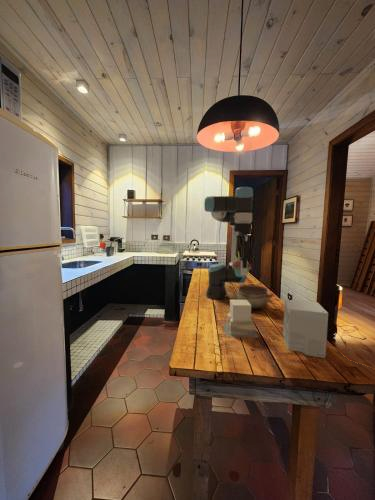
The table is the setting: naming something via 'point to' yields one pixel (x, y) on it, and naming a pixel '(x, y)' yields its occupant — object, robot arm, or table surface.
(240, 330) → the maple base block
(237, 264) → the cupcake
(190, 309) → the table surface
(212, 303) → the table surface
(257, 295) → the cooking pot
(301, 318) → the supplement box
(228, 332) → the slate board
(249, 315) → the cream block
